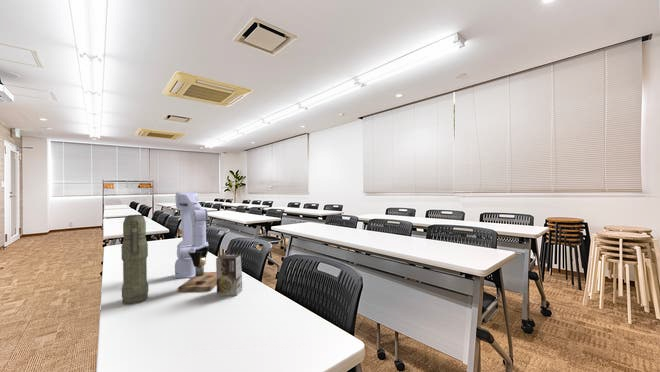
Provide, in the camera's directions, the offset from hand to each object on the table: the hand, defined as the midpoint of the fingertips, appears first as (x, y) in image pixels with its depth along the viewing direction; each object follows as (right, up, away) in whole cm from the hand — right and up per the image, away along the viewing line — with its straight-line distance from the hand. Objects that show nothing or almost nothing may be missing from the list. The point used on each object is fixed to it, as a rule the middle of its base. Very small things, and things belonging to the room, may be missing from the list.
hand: (199, 264), depth 127 cm
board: (0, -10, +5) cm, 12 cm away
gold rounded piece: (0, -5, 0) cm, 5 cm away
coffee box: (+17, -10, -7) cm, 21 cm away
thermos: (-20, -11, -14) cm, 27 cm away
